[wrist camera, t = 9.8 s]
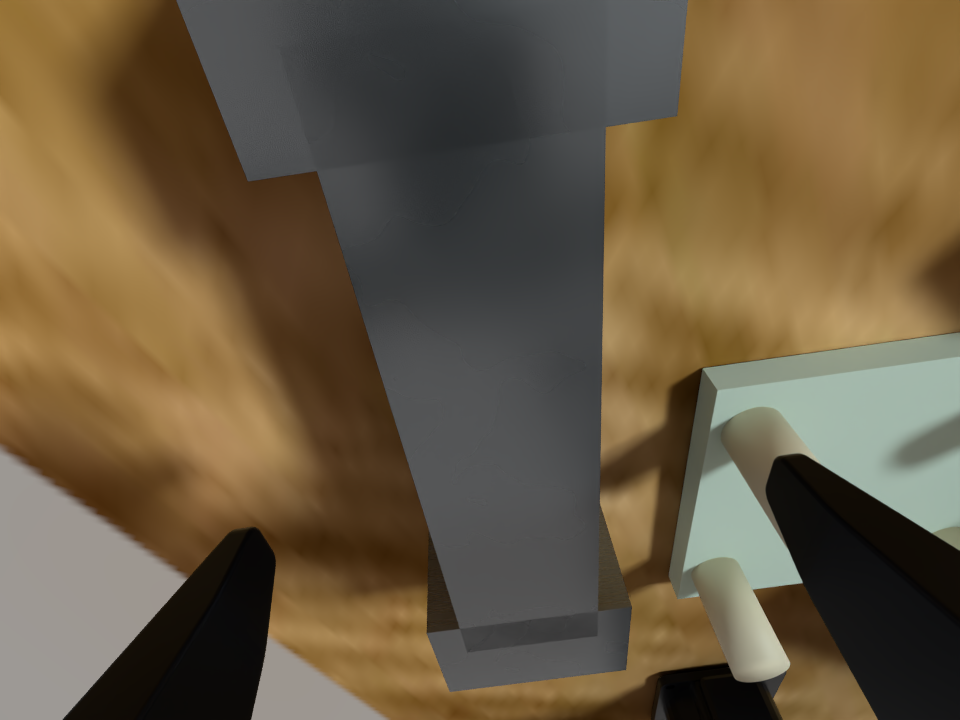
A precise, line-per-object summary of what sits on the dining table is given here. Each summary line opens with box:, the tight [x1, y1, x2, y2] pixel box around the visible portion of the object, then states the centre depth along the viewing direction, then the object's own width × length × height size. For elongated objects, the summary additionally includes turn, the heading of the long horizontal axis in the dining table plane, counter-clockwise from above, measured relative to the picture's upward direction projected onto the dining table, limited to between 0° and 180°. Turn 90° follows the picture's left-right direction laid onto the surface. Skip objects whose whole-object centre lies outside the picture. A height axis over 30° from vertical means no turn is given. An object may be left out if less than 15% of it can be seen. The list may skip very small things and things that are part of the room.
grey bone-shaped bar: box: [176, 0, 688, 692], centre depth 12 cm, size 19×5×5 cm, turn 7°
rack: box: [669, 332, 960, 682], centre depth 16 cm, size 11×11×4 cm
